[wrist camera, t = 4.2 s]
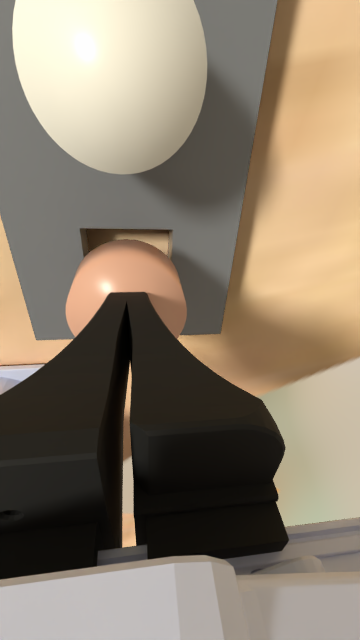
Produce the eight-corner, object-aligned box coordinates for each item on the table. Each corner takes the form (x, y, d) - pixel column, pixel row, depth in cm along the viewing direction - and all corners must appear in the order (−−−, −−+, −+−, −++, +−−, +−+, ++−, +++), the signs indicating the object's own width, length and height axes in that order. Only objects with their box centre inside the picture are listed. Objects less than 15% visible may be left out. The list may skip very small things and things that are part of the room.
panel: (214, 317, 18) (220, 333, 17) (43, 322, 17) (36, 340, 16) (355, -627, 6) (421, -841, 4) (-271, -907, 4) (-445, -1344, 3)
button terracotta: (173, 311, 15) (183, 357, 13) (86, 313, 15) (75, 362, 12) (178, 227, 13) (191, 261, 10) (72, 225, 12) (54, 261, 9)
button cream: (182, 159, 11) (198, 177, 9) (62, 154, 11) (36, 171, 8) (191, -8, 9) (218, -60, 6) (34, -27, 8) (-16, -96, 5)
